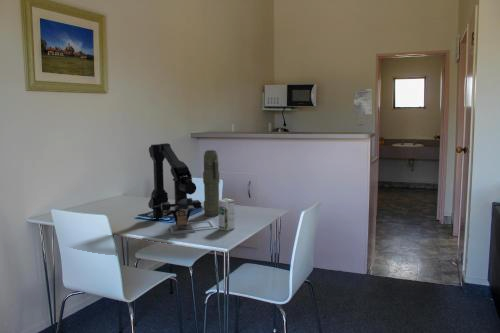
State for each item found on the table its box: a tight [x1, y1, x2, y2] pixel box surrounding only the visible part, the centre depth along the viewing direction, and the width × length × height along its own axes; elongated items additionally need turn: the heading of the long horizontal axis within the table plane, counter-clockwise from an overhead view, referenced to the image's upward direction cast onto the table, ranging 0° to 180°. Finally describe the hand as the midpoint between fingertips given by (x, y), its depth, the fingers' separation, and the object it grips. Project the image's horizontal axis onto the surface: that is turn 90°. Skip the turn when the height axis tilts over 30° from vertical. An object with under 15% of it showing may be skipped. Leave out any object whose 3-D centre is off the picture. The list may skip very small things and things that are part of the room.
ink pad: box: [168, 224, 196, 235], centre depth 214 cm, size 11×11×2 cm
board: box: [187, 219, 219, 232], centre depth 221 cm, size 14×14×1 cm
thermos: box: [202, 149, 221, 217], centre depth 241 cm, size 9×12×35 cm
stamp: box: [175, 209, 188, 227], centre depth 213 cm, size 5×5×8 cm
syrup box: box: [218, 198, 236, 232], centre depth 214 cm, size 6×6×14 cm
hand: (181, 222), depth 214 cm, fingers closed on stamp, 4 cm apart
